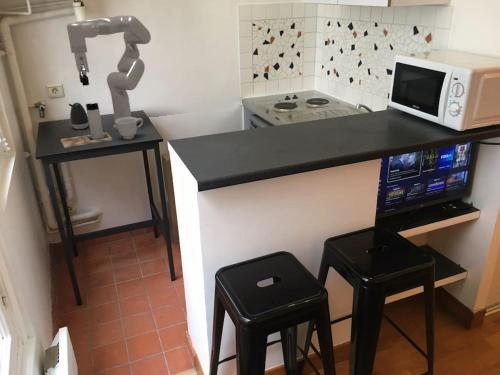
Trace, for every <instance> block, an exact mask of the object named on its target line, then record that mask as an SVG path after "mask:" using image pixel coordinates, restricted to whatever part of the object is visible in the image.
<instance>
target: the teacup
mask: <svg viewBox="0 0 500 375" xmlns="http://www.w3.org/2000/svg"><path fill="white" fill-rule="evenodd" d="M139 120H140V121H139ZM115 122H116V123H115ZM139 122H140V124H139V125H137V124H138V123H139ZM114 123H115V124H117V126H118V129H117V130H118V133H119V135H120V136H122V137H123V139H124V140H130V139H134V138H135V135H136V134H137V132H138V128H140V127H141V126H143V124H144V120H143V118H141V117H138V119H137V117H134V116H131V117H123V118H119V119H116V120H115V119H114Z"/></svg>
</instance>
